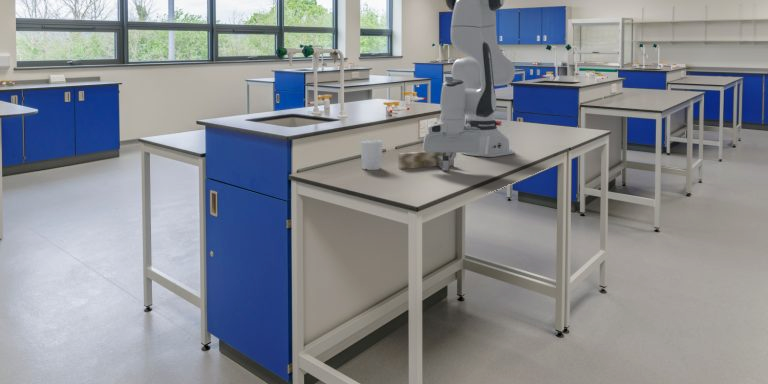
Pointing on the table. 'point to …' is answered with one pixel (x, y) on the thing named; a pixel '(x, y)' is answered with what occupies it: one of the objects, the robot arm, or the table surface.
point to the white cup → (371, 154)
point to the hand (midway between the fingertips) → (450, 164)
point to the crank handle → (443, 162)
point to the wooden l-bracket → (419, 159)
